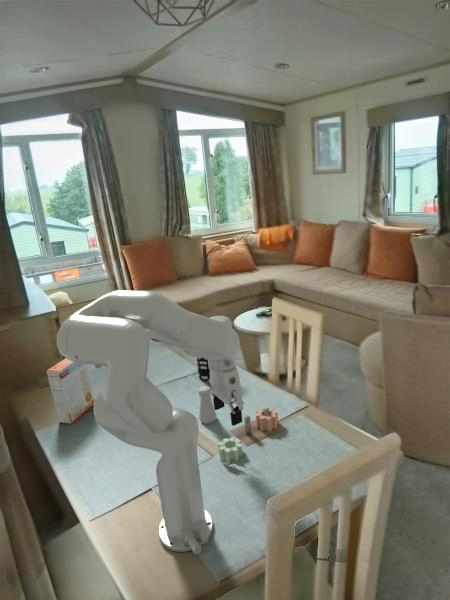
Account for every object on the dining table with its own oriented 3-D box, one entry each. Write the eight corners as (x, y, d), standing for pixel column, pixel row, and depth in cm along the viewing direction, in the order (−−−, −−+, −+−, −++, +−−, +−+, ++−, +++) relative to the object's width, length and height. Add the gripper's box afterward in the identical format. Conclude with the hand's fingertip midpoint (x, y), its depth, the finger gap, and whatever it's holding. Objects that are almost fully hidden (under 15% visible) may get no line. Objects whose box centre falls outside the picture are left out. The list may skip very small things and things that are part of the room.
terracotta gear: (282, 423, 133) (281, 410, 132) (270, 434, 128) (270, 421, 126) (264, 417, 137) (263, 405, 136) (252, 427, 132) (251, 415, 131)
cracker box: (82, 402, 160) (72, 353, 154) (95, 404, 158) (85, 353, 152) (57, 423, 148) (45, 369, 142) (71, 425, 146) (59, 371, 140)
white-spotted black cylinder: (195, 375, 174) (190, 330, 168) (213, 370, 177) (209, 326, 171) (203, 383, 166) (197, 337, 161) (221, 377, 170) (217, 332, 164)
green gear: (247, 458, 120) (246, 445, 118) (227, 468, 116) (225, 455, 115) (235, 447, 125) (234, 434, 124) (215, 455, 122) (214, 443, 121)
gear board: (287, 431, 130) (285, 411, 128) (247, 450, 123) (245, 429, 121) (268, 417, 139) (267, 398, 137) (230, 434, 132) (228, 414, 130)
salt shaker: (214, 428, 136) (210, 392, 132) (198, 427, 137) (193, 392, 133) (218, 418, 141) (214, 383, 138) (202, 417, 142) (198, 383, 139)
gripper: (251, 368, 107) (256, 425, 112) (218, 347, 121) (224, 398, 126) (226, 377, 103) (232, 435, 109) (195, 354, 118) (202, 407, 123)
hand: (228, 415), depth 118 cm, fingers open, 9 cm apart
